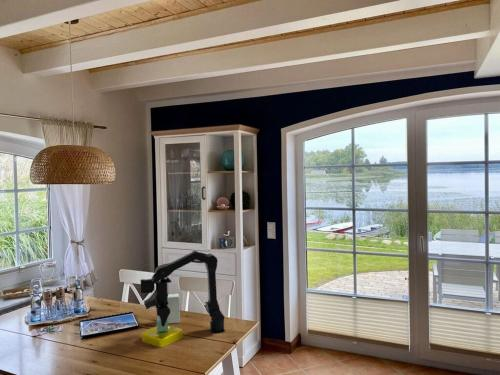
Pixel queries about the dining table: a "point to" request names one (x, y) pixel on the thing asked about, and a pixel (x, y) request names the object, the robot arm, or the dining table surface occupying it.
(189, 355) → the dining table surface
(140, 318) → the dining table surface
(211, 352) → the dining table surface
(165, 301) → the robot arm
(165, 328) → the block
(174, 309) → the skincare box
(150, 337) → the element tile
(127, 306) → the dining table surface
